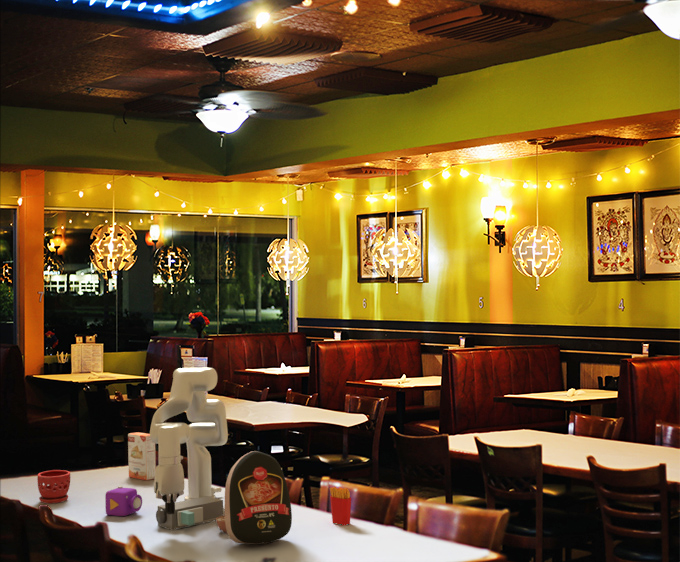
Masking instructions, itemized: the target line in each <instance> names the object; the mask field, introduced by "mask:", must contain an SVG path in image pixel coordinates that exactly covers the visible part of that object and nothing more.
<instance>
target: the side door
mask: <svg viewBox="0 0 680 562" xmlns="http://www.w3.org/2000/svg"><path fill="white" fill-rule="evenodd" d="M202 521H203V507H198V508H193V509H188V510H183V511H178V512H177V522H178V526H183V525H193V524H194V523H197V522H202ZM193 526H194V525H193Z"/></svg>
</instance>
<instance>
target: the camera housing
mask: <svg viewBox="0 0 680 562" xmlns="http://www.w3.org/2000/svg"><path fill="white" fill-rule="evenodd" d="M198 507H203V521H202V522H197V523H194V524H193V525H183V526H178V522H177V512H178V511H183V510H188V509H193V508H198ZM220 516H224V499H220V498H216V497H215V498H213V497H209V496H207V497H202V498H197V499H191V500H186V501H185V500H182V501H178V502H177V501H176V502H175V511H174V514H166V511H165V504H161V505H157V510H156V512H155V519H156V521H157V526H160V527H161V528H162V527H163V528H165V529H168V530H171V531H174V530H178V529H183V528H187V527H188V528H189V527H192V526H193V527H194V526H196V525H197V526H198V525H201V524H206V523H211V522H215V521H216V518H218V517H220Z"/></svg>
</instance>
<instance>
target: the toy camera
mask: <svg viewBox="0 0 680 562" xmlns="http://www.w3.org/2000/svg"><path fill="white" fill-rule="evenodd" d="M104 497H105V514H106V515H108V516H114V517H115V516H116V517H126V516H128V515H129V516H130V515H132V514H134V513H137V512H139V511H140V510H141V508H142V505H143V497H142V496H141V494H138V491H137V489H136V488H135V487H134V488H133V487H132V488H131V487H123V486H122V485H119V486H117V488H114V489H110V490H108V491H106V493H105V496H104Z"/></svg>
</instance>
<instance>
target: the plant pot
mask: <svg viewBox="0 0 680 562" xmlns="http://www.w3.org/2000/svg"><path fill="white" fill-rule="evenodd" d="M43 484H44V485H43ZM70 486H71V471H68V470H64V469H63V470H61V469H52V470H46V471H42V472H39V473H38V474H37V488H38V493H39V495H40V496H39V501H40V502H41V503H43V504H60V503H63V502H66V501H67V500H68V499H69V494H68V492H69V490H70Z"/></svg>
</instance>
